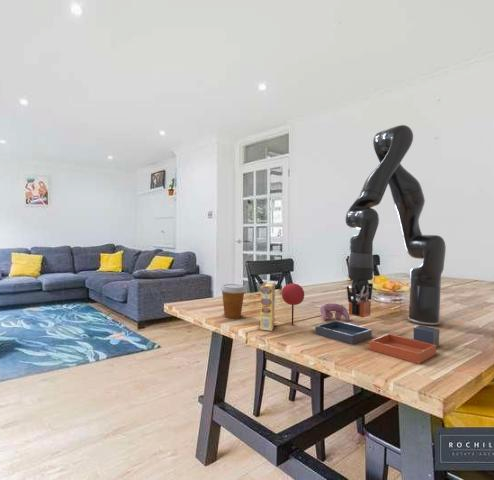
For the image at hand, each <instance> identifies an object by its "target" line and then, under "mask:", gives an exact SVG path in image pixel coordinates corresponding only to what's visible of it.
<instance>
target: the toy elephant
mask: <svg viewBox="0 0 494 480" xmlns="http://www.w3.org/2000/svg"><path fill="white" fill-rule="evenodd" d="M319 310H320V314H321V317H322V319H323V320H324V321H326V320H327V319H332V318H335V319H336V320H340V319H341V318H342V316H343V318H344V319H345V320H346V321H347V322H349V321H350V315H349V311H348V310H347V308H346V307H345V306H344V305H343V304H338V303H334V302H333V303H331V302H330V303H325V304H323V305H321V306H320V308H319ZM333 312H335V313H333Z"/></svg>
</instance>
